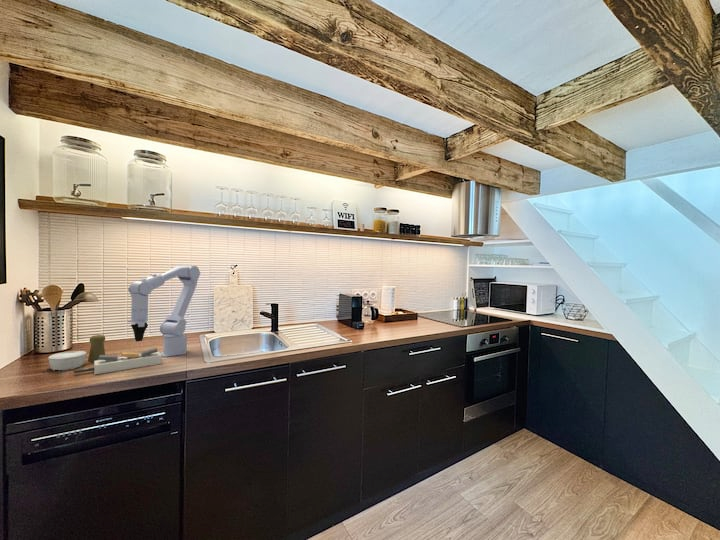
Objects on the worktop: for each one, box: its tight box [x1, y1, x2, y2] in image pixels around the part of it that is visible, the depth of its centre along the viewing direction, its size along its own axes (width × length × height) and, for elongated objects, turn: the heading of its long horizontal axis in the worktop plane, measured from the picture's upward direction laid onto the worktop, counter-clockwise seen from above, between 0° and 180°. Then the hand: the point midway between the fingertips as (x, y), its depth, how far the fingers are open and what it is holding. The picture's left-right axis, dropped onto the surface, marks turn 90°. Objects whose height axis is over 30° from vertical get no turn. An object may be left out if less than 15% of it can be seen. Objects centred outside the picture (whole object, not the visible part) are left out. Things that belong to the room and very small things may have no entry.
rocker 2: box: [140, 347, 159, 357], centre depth 129 cm, size 6×3×1 cm, turn 132°
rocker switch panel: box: [73, 351, 163, 375], centre depth 122 cm, size 28×7×4 cm, turn 133°
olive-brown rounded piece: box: [87, 334, 106, 363], centre depth 130 cm, size 6×6×11 cm
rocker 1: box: [99, 354, 118, 360], centre depth 119 cm, size 6×3×1 cm, turn 133°
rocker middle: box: [120, 351, 140, 357], centre depth 124 cm, size 6×3×1 cm, turn 133°
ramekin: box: [47, 350, 87, 372], centre depth 121 cm, size 11×11×5 cm
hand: (138, 340), depth 126 cm, fingers closed
